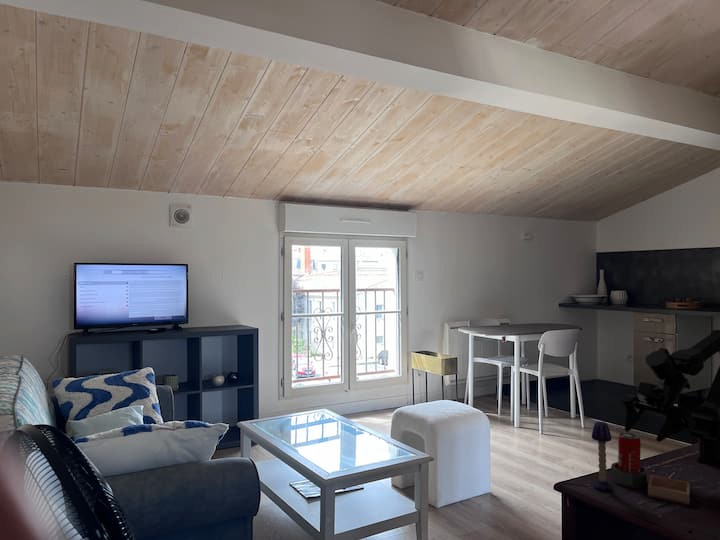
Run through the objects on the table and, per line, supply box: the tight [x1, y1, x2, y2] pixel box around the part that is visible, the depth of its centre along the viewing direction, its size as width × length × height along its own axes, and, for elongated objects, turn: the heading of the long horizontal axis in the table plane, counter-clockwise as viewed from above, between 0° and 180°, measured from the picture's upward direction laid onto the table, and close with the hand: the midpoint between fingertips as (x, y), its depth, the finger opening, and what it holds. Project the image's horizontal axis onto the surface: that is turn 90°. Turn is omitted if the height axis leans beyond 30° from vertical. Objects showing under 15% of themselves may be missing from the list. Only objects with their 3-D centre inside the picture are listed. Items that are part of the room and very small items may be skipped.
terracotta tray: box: [647, 474, 691, 505], centre depth 135 cm, size 9×9×2 cm
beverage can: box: [617, 432, 641, 473], centre depth 143 cm, size 5×5×12 cm
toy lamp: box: [591, 421, 613, 493], centre depth 138 cm, size 5×5×17 cm
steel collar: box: [610, 461, 649, 489], centre depth 143 cm, size 8×8×4 cm
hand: (641, 435), depth 145 cm, fingers open, 9 cm apart
